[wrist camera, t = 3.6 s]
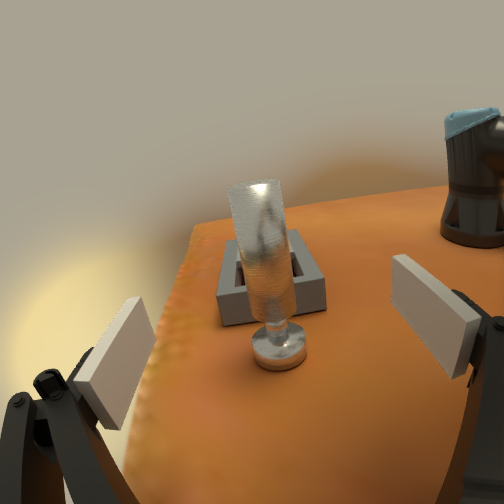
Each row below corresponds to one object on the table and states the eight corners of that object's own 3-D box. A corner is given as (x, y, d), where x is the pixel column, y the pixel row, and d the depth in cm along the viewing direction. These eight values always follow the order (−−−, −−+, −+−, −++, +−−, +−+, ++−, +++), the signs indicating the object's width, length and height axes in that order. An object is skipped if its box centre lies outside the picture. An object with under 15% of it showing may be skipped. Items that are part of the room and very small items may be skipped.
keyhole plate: (326, 308, 34) (324, 277, 32) (223, 325, 34) (216, 295, 33) (299, 251, 53) (296, 229, 51) (231, 262, 53) (226, 240, 52)
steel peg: (316, 344, 28) (298, 176, 23) (288, 377, 25) (259, 189, 19) (274, 333, 31) (248, 179, 26) (244, 360, 28) (207, 192, 22)
